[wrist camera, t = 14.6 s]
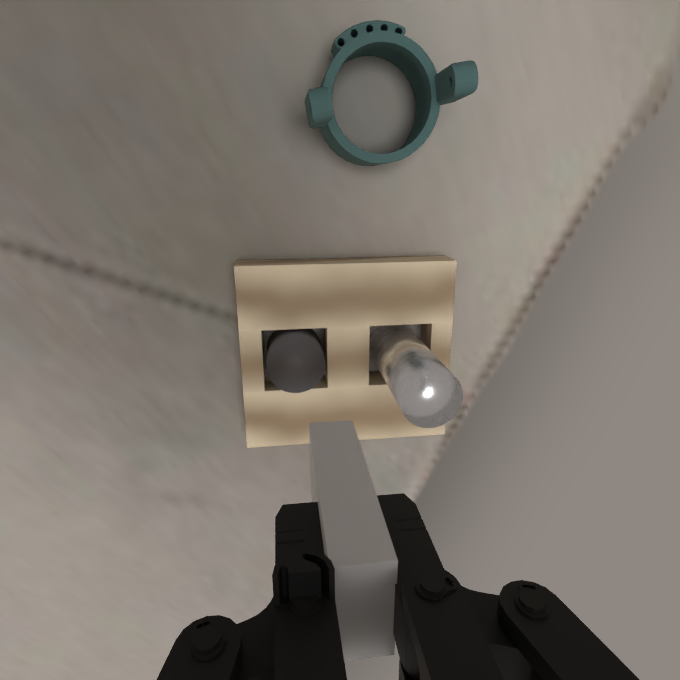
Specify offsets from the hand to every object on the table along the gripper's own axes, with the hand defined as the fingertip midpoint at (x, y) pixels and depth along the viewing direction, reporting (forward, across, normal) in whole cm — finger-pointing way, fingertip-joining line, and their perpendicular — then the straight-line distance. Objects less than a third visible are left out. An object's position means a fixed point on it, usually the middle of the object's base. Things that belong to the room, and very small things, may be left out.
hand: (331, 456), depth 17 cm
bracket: (+27, +6, +15) cm, 31 cm away
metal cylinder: (+26, +8, -5) cm, 28 cm away
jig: (+26, +4, -5) cm, 27 cm away
